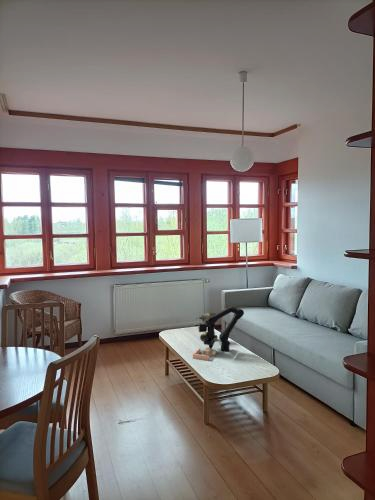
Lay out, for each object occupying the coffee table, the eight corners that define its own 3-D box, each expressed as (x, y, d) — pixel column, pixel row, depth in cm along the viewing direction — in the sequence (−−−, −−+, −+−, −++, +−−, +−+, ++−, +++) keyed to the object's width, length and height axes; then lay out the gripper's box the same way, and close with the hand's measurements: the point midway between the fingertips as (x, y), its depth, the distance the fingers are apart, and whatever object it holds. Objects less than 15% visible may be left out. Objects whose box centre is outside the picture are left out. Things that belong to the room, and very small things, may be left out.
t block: (216, 353, 304) (216, 348, 303) (213, 357, 296) (213, 352, 296) (206, 352, 307) (206, 347, 307) (203, 355, 300) (203, 350, 299)
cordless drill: (193, 339, 340) (193, 313, 338) (213, 337, 347) (213, 311, 345) (196, 342, 332) (197, 315, 330) (217, 340, 339) (217, 313, 337)
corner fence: (214, 354, 303) (214, 350, 303) (208, 360, 290) (208, 356, 289) (198, 351, 308) (198, 348, 308) (192, 358, 295) (192, 354, 294)
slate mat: (219, 353, 306) (219, 352, 306) (212, 362, 288) (212, 361, 288) (199, 350, 312) (199, 350, 312) (191, 358, 294) (191, 358, 294)
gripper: (205, 327, 320) (205, 344, 322) (197, 333, 303) (197, 352, 305) (217, 328, 316) (217, 346, 318) (210, 335, 299) (210, 354, 300)
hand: (210, 349), depth 310 cm, fingers closed
